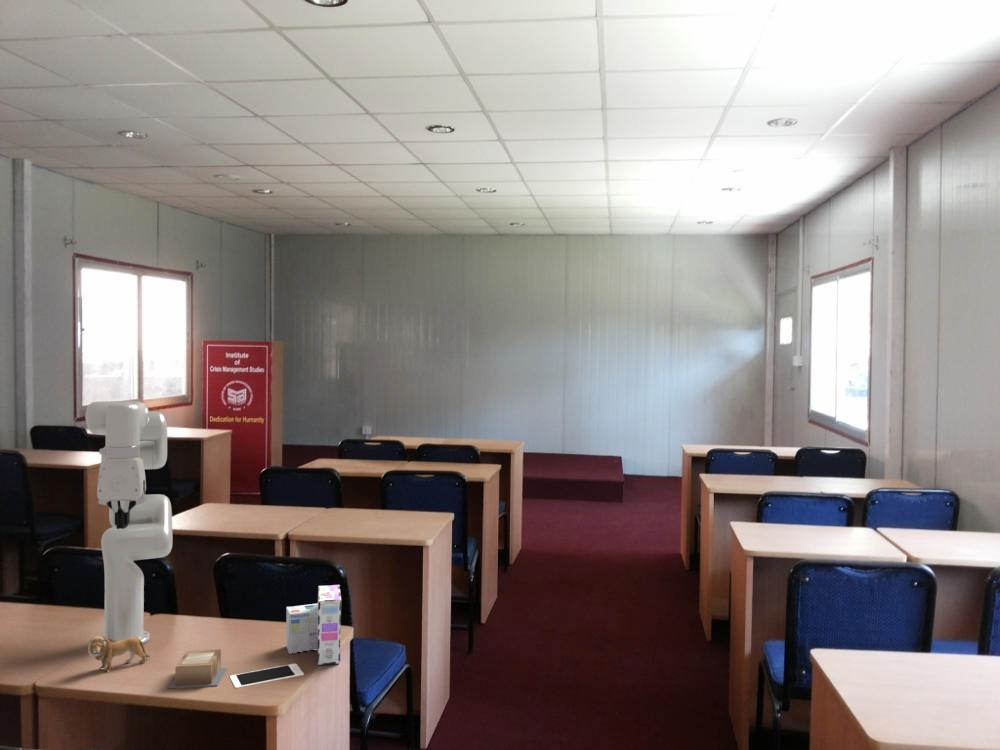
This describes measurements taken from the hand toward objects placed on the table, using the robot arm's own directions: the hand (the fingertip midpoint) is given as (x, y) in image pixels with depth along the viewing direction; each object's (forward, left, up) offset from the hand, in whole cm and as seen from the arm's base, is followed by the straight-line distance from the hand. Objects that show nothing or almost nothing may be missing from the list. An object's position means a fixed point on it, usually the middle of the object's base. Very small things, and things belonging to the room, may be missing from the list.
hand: (122, 527), depth 183 cm
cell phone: (+8, +36, -36) cm, 51 cm away
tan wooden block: (+2, +20, -33) cm, 38 cm away
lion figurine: (-2, -1, -35) cm, 35 cm away
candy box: (-4, +50, -35) cm, 61 cm away
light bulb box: (-10, +44, -35) cm, 57 cm away
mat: (+8, +20, -35) cm, 41 cm away
